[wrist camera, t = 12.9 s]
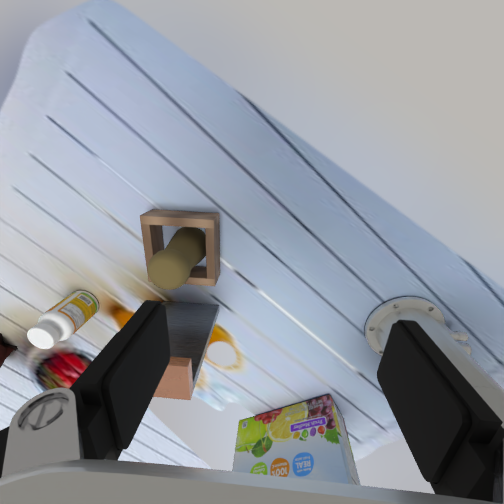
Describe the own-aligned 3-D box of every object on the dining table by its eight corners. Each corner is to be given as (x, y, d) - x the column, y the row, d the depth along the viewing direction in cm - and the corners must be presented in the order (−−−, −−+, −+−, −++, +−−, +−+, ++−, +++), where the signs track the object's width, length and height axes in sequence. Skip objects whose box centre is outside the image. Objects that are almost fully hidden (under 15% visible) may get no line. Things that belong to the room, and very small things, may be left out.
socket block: (219, 213, 37) (213, 220, 34) (219, 274, 41) (215, 286, 38) (152, 209, 38) (139, 215, 34) (159, 269, 42) (148, 281, 38)
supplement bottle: (74, 312, 47) (27, 351, 38) (68, 288, 45) (17, 322, 36) (102, 315, 47) (61, 354, 38) (96, 291, 45) (53, 326, 36)
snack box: (328, 389, 50) (380, 607, 26) (344, 416, 52) (405, 637, 28) (235, 418, 55) (209, 622, 31) (254, 441, 57) (243, 646, 34)
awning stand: (218, 286, 42) (187, 367, 26) (219, 310, 44) (190, 400, 28) (161, 281, 43) (97, 358, 27) (164, 306, 45) (106, 392, 29)
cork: (169, 227, 39) (133, 254, 29) (206, 224, 38) (183, 250, 28) (177, 262, 41) (146, 298, 31) (212, 260, 41) (193, 296, 30)
